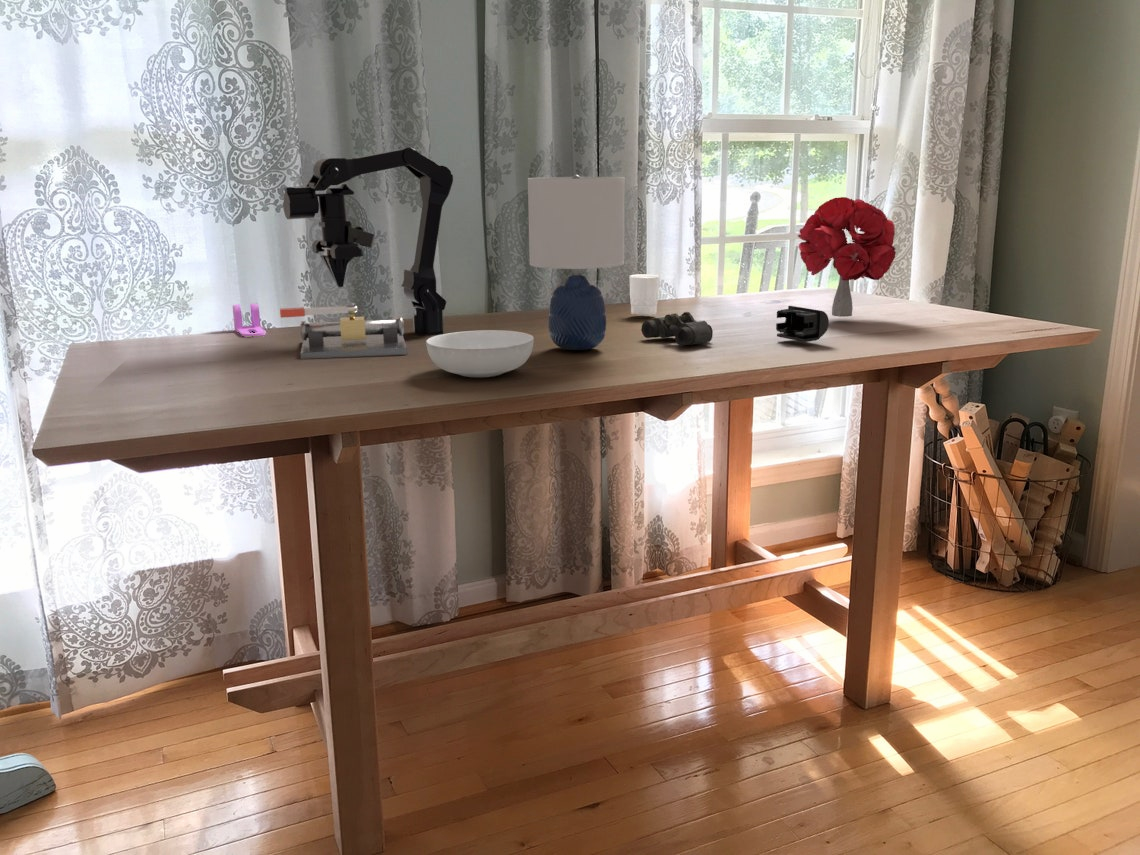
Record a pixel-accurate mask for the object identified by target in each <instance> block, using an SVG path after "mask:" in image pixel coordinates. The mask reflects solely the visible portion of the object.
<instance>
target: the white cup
mask: <svg viewBox="0 0 1140 855" xmlns="http://www.w3.org/2000/svg"><path fill="white" fill-rule="evenodd" d="M659 284H660V275H658V274H650V273H647V274H646V273H645V274H644V273H641V274H632V275H631V274H630V275H629V298H630V313H631V314H632V315H634V314H637V315H636V316H652V314H654V315H656V314H657V313H658V312H657V309H658V305H657V304H658V300H659V287H660V286H659Z"/></svg>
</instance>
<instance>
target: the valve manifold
mask: <svg viewBox="0 0 1140 855" xmlns="http://www.w3.org/2000/svg"><path fill="white" fill-rule="evenodd" d="M355 313H356V312H354V313H348V317H347V316H346V317H339V321H328V322H306V320H301V322H300V335H301V339H302V345H301V350H300V359H301V360H308V359H309V360H310V359H312V360H313V359H332V358H333V359H336V358H339V359H340V358H359V357H361V358H363V357H387V356H388V357H389V356H406V355H408V347H407V344H406V341H405V338H404V333H405V327H404V326H405V325H404V318H403V317H402V316H398V317H397V318H396V319H395V318H393V319H376V320H375V319H374V320H372V319H371V320H365V316H355V315H356V314H355Z"/></svg>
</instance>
